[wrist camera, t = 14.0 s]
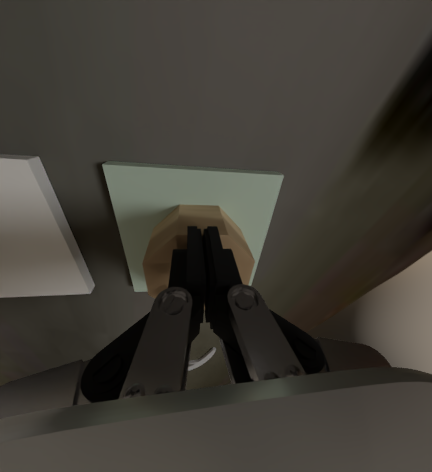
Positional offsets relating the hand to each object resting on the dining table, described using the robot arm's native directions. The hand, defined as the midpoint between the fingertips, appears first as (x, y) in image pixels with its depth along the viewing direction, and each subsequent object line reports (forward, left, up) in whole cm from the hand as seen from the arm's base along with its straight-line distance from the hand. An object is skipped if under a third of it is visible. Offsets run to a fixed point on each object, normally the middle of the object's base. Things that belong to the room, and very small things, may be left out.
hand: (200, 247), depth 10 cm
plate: (+3, 0, -5) cm, 6 cm away
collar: (+3, 0, -4) cm, 5 cm away
